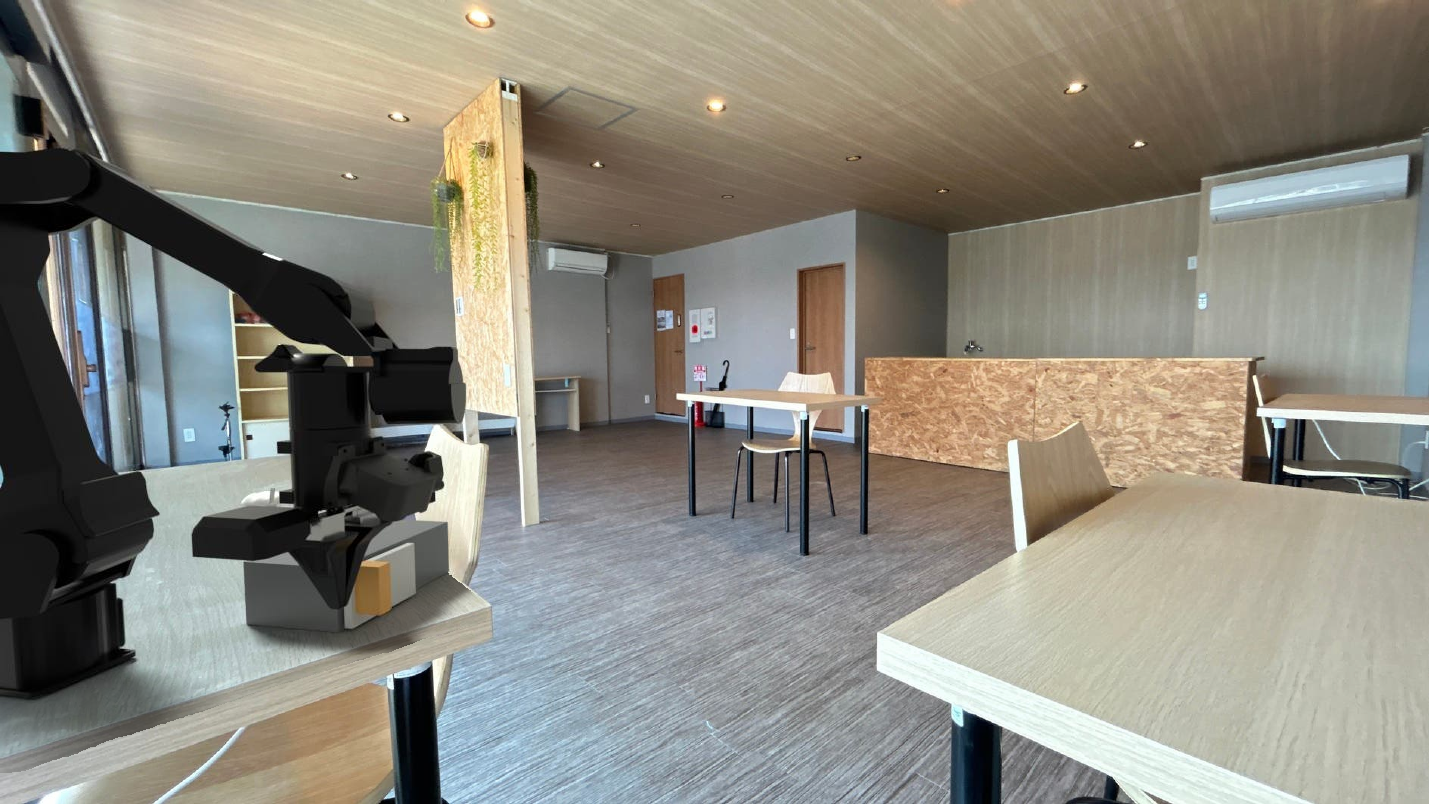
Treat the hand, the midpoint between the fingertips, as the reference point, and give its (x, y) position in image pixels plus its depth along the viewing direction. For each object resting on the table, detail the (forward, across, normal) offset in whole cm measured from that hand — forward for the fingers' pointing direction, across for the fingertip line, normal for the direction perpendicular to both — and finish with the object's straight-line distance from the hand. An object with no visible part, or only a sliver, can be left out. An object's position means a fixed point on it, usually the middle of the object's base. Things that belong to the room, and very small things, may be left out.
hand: (338, 607), depth 49 cm
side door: (+3, +7, +1) cm, 8 cm away
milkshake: (+4, +16, +26) cm, 31 cm away
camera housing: (+4, +10, +8) cm, 13 cm away
